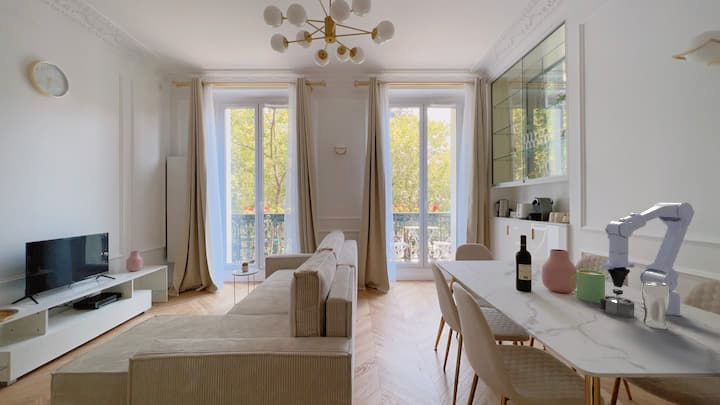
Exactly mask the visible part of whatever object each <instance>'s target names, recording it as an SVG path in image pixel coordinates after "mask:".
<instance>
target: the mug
mask: <svg viewBox="0 0 720 405" xmlns="http://www.w3.org/2000/svg"><path fill="white" fill-rule="evenodd" d="M575 278H576V289H575V288H574V287H573V280H574V279H575ZM569 284H570V288H571V289H572V291H573V292H575V294H576V298H577V299H579V300H581V301H584V302H588V303H590V302H591V303H598V304H600V299H602V297H605V296H606V273H605V272H603V271H599V270H593V269H585V268H584V269H583V268H582V269H577V270H576V274H574V275H573V276H572V277H571V278H570V281H569Z"/></svg>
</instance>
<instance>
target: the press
mask: <svg viewBox="0 0 720 405" xmlns="http://www.w3.org/2000/svg"><path fill="white" fill-rule="evenodd" d="M608 298H615V299H616V296H614V295H613V296H612V295H605V297H602V299H600V303H599V308H600V309H601V311H602V312H604V313H605V314H607V315H610V316H614V317H617V318H628V319H630V318H632V317H635V302H634V301H633V300H631V299H629V298H625V297H620V299H621V300H625V301H627V302H629V303H628V304H626V303H617V302H613V301H609V300H607V299H608Z"/></svg>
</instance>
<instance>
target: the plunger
mask: <svg viewBox="0 0 720 405" xmlns="http://www.w3.org/2000/svg"><path fill="white" fill-rule="evenodd" d="M612 293H613V294H615V297H616V299H615V298H608V299H607V300H609V301H613V302H617V303H626V304H628V303H629V302H627V301H625V300H621V299H620V296H621V295H624V290H621V289H618V288H614V289H612Z"/></svg>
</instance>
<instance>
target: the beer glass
mask: <svg viewBox="0 0 720 405" xmlns="http://www.w3.org/2000/svg"><path fill="white" fill-rule="evenodd" d="M641 301H642V305H643V306H644V308H643V311H644V318H643V321H642V324H643V325H644V326H646V327H650V328H653V329H656V330H666V329H667V322H666V315H667V314H666V311H667V308H668V303H669V288H668V285H667V284H664V283H659V282H652V281H644V282H643V283H642V287H641Z"/></svg>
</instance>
